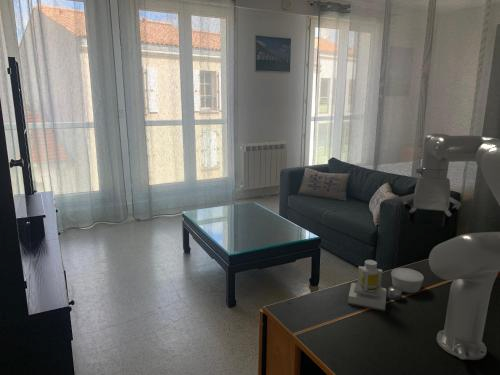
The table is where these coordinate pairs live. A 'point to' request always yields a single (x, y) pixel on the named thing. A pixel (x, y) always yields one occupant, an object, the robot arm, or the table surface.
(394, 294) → the shiny gray ball
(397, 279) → the ramekin
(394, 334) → the table surface
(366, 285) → the supplement bottle
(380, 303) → the scale housing
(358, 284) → the pan
